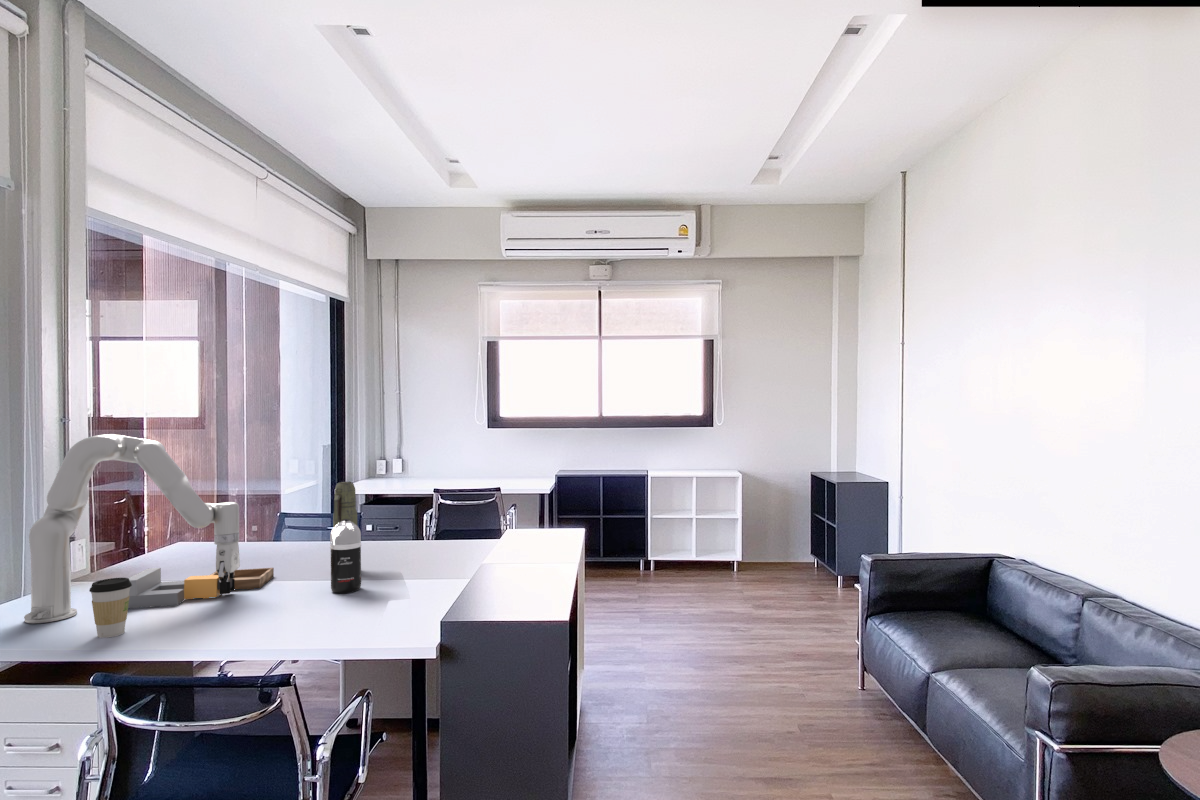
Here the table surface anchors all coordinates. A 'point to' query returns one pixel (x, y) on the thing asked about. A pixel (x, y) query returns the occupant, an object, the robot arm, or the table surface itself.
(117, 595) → the coffee cup
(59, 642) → the table surface
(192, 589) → the orange wooden block
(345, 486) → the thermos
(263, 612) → the table surface
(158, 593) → the dock
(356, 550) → the spray bottle
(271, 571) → the tray
